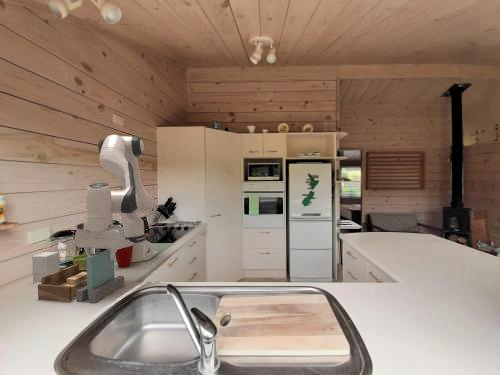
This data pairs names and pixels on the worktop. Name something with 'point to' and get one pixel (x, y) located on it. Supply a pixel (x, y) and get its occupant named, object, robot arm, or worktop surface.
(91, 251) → the robot arm
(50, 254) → the supplement box
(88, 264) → the tall sheet
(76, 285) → the offcut stack
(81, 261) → the plant pot
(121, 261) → the plastic cup
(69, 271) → the open wooden tray
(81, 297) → the sheet stand
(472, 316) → the worktop surface
